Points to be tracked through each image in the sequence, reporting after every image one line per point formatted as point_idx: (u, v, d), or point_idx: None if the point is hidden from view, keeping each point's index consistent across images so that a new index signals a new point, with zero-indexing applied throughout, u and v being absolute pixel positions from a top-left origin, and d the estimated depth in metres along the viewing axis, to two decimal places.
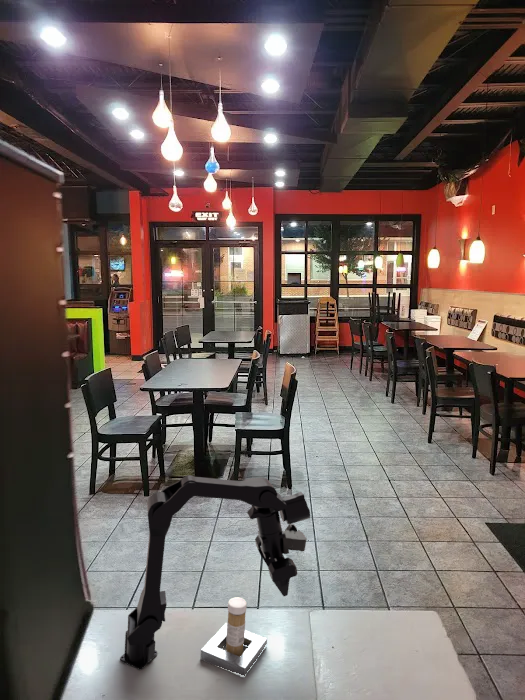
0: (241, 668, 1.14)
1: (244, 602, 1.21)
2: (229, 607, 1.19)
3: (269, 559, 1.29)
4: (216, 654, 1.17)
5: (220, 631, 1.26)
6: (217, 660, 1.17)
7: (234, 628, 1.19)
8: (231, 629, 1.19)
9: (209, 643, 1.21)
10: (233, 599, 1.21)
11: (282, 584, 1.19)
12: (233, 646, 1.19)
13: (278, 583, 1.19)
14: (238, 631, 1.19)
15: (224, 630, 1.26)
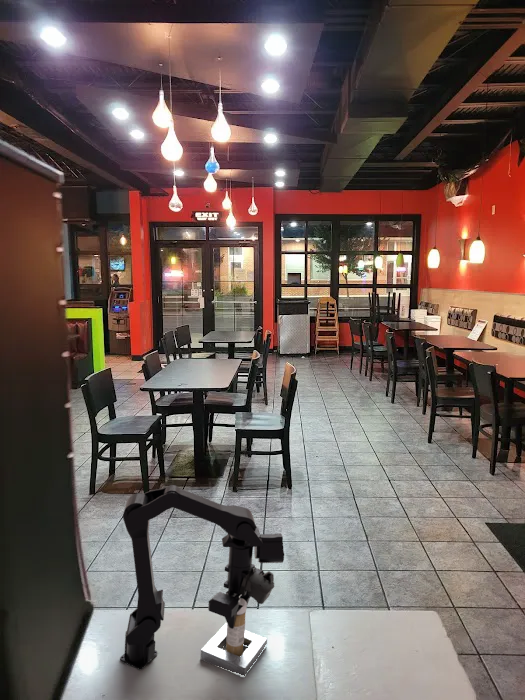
0: (241, 668, 1.14)
1: (244, 602, 1.21)
2: None
3: (239, 598, 1.23)
4: (216, 654, 1.17)
5: (220, 631, 1.26)
6: (217, 660, 1.17)
7: (234, 628, 1.19)
8: (231, 629, 1.19)
9: (209, 643, 1.21)
10: None
11: None
12: (233, 646, 1.19)
13: None
14: (238, 631, 1.19)
15: (224, 630, 1.26)
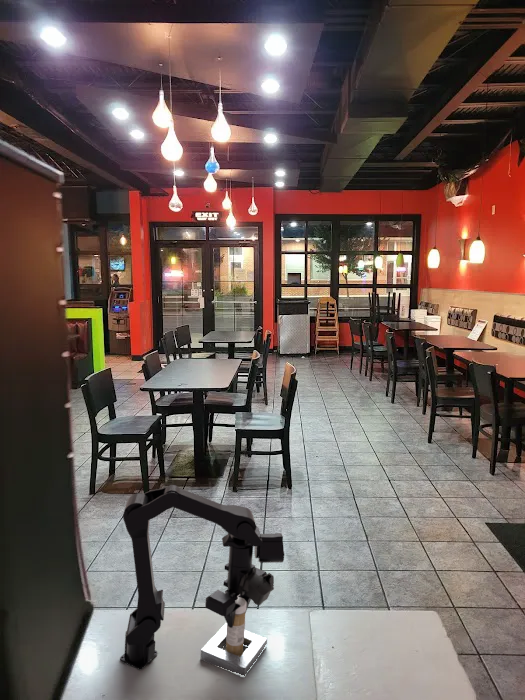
0: (241, 668, 1.14)
1: (244, 602, 1.20)
2: None
3: None
4: (216, 654, 1.17)
5: (220, 631, 1.26)
6: (217, 660, 1.17)
7: (233, 628, 1.19)
8: (230, 628, 1.19)
9: (209, 643, 1.21)
10: None
11: None
12: (232, 645, 1.19)
13: None
14: (236, 631, 1.19)
15: (224, 630, 1.26)
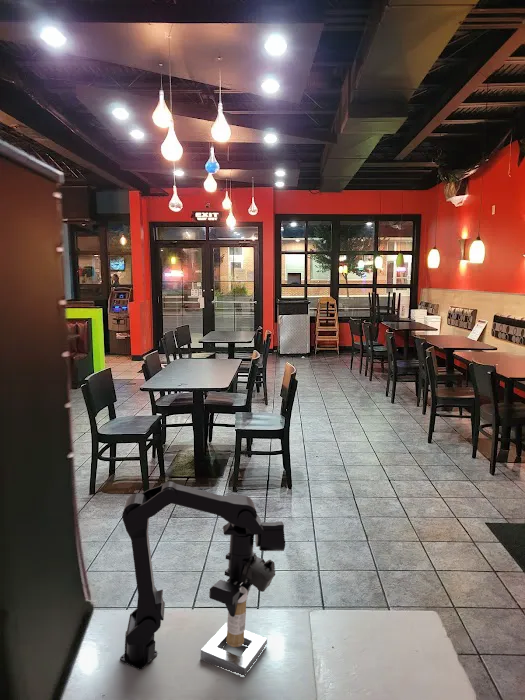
0: (241, 668, 1.14)
1: (245, 590, 1.20)
2: None
3: None
4: (216, 654, 1.17)
5: (220, 631, 1.26)
6: (217, 660, 1.17)
7: (235, 616, 1.19)
8: (232, 617, 1.19)
9: (209, 643, 1.21)
10: None
11: None
12: (234, 634, 1.19)
13: None
14: (239, 619, 1.19)
15: (224, 630, 1.26)
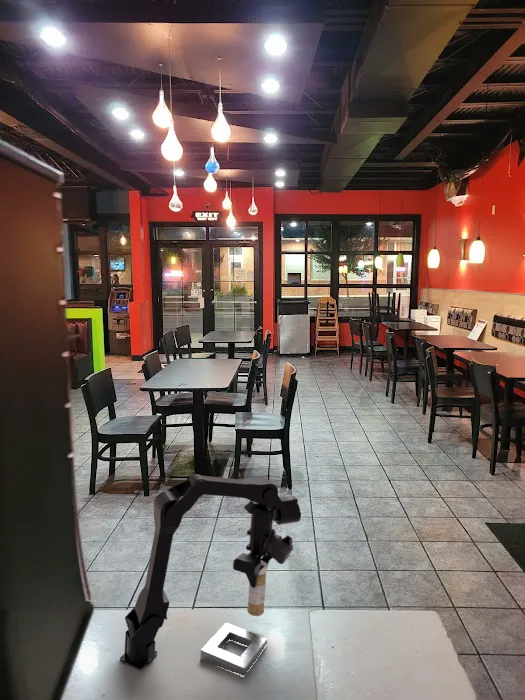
0: (241, 668, 1.14)
1: (265, 564, 1.30)
2: None
3: None
4: (216, 654, 1.17)
5: (220, 631, 1.26)
6: (217, 660, 1.17)
7: (256, 588, 1.28)
8: (253, 588, 1.29)
9: (209, 643, 1.21)
10: None
11: (250, 574, 1.27)
12: (255, 604, 1.29)
13: None
14: (259, 590, 1.28)
15: (224, 630, 1.26)
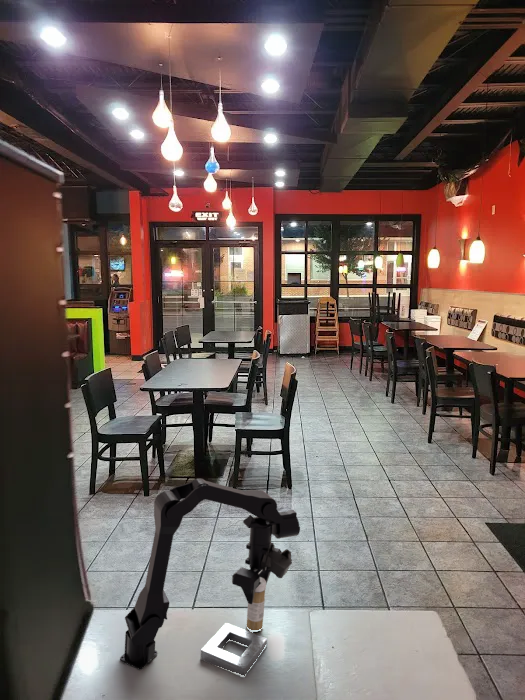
0: (241, 668, 1.14)
1: (264, 581, 1.31)
2: None
3: (261, 572, 1.34)
4: (216, 654, 1.17)
5: (220, 631, 1.26)
6: (217, 660, 1.17)
7: (255, 605, 1.29)
8: (252, 605, 1.29)
9: (209, 643, 1.21)
10: None
11: (247, 591, 1.26)
12: (254, 621, 1.29)
13: None
14: (258, 607, 1.29)
15: (224, 630, 1.26)
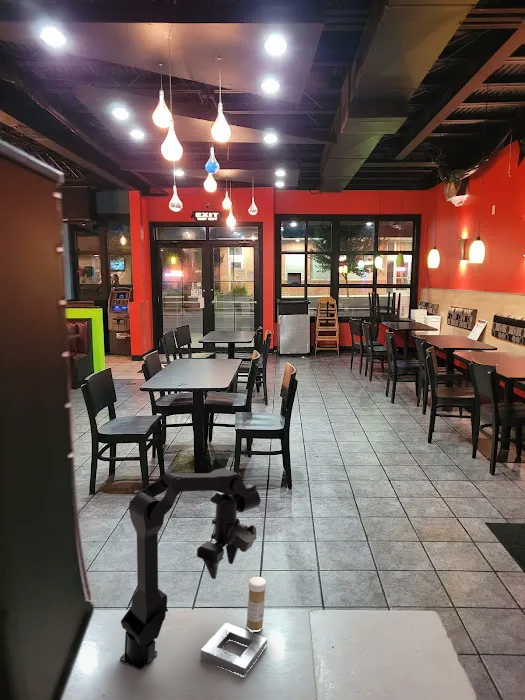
0: (241, 668, 1.14)
1: (264, 581, 1.31)
2: (250, 585, 1.29)
3: (229, 546, 1.39)
4: (216, 654, 1.17)
5: (220, 631, 1.26)
6: (217, 660, 1.17)
7: (255, 605, 1.29)
8: (252, 605, 1.29)
9: (209, 643, 1.21)
10: (253, 578, 1.31)
11: (210, 565, 1.30)
12: (254, 621, 1.29)
13: (206, 562, 1.30)
14: (258, 607, 1.29)
15: (224, 630, 1.26)
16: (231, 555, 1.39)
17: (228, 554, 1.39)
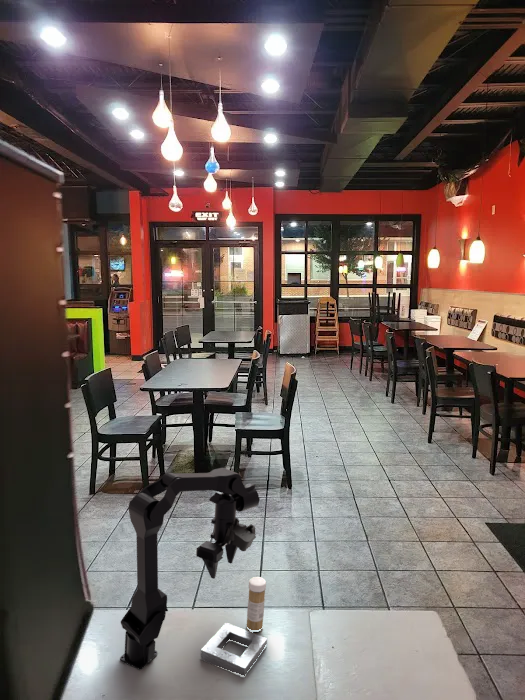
0: (241, 668, 1.14)
1: (264, 581, 1.31)
2: (250, 585, 1.29)
3: (229, 545, 1.39)
4: (216, 654, 1.17)
5: (220, 631, 1.26)
6: (217, 660, 1.17)
7: (255, 605, 1.29)
8: (252, 605, 1.29)
9: (209, 643, 1.21)
10: (253, 578, 1.31)
11: (210, 565, 1.30)
12: (254, 621, 1.29)
13: (206, 562, 1.30)
14: (258, 607, 1.29)
15: (224, 630, 1.26)
16: (230, 554, 1.39)
17: (227, 553, 1.39)
